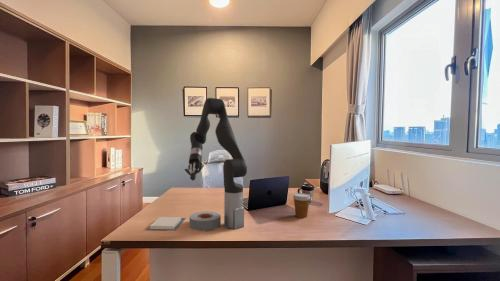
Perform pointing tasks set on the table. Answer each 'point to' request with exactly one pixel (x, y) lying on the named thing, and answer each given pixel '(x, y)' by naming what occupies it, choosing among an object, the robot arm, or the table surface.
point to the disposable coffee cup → (301, 204)
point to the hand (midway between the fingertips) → (192, 179)
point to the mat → (171, 229)
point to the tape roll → (205, 221)
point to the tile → (165, 223)
